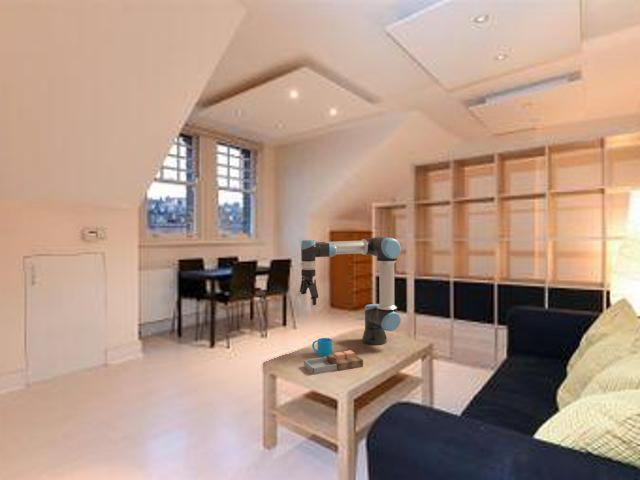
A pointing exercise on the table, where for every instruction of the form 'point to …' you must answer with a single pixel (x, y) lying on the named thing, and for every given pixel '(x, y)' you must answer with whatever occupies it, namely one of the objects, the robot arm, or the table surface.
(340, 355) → the tile
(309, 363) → the tray
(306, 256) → the robot arm
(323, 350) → the mug
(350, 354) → the tile
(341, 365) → the brown square slab
